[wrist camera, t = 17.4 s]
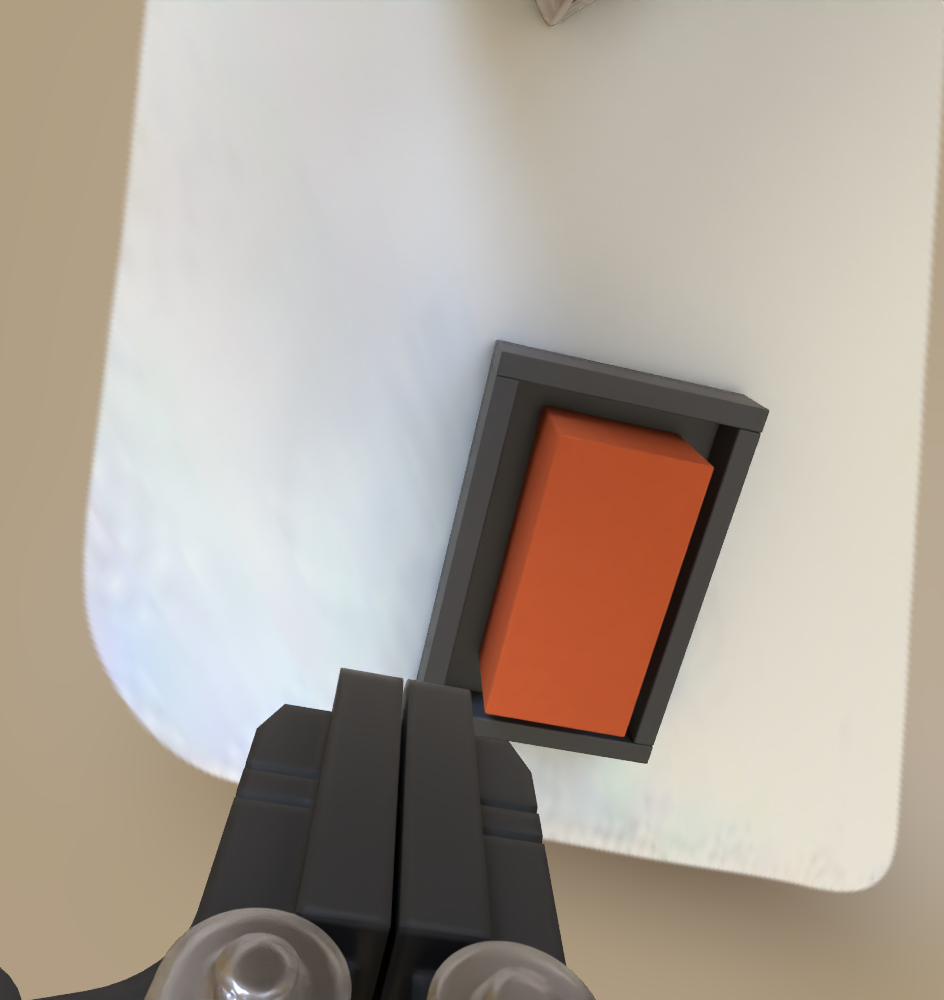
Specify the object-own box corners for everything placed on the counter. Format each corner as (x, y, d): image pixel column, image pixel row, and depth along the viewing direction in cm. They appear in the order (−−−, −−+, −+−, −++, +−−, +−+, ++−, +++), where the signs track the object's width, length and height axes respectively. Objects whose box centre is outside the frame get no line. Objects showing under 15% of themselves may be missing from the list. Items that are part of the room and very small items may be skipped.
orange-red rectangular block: (542, 404, 30) (559, 433, 26) (679, 433, 30) (715, 467, 26) (477, 655, 33) (484, 714, 29) (602, 677, 33) (625, 738, 29)
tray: (496, 339, 29) (502, 350, 27) (744, 394, 30) (770, 410, 28) (413, 690, 34) (412, 725, 31) (633, 728, 35) (647, 764, 33)
